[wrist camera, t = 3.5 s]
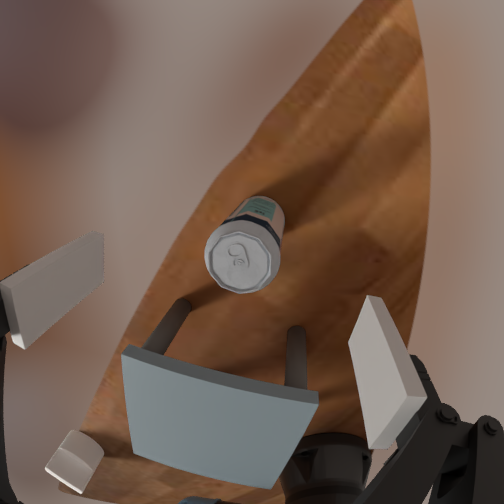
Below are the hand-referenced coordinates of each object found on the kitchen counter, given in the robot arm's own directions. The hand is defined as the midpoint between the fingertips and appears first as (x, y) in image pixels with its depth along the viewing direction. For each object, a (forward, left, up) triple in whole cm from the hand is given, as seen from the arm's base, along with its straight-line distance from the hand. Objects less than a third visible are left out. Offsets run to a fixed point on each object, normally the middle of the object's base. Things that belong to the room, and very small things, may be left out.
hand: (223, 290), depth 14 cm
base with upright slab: (+27, +55, -17) cm, 64 cm away
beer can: (0, 0, -17) cm, 17 cm away
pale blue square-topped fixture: (0, +18, -16) cm, 25 cm away
